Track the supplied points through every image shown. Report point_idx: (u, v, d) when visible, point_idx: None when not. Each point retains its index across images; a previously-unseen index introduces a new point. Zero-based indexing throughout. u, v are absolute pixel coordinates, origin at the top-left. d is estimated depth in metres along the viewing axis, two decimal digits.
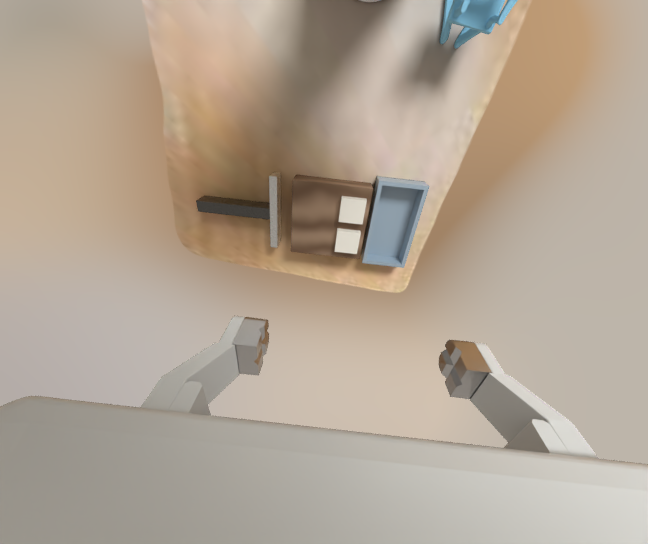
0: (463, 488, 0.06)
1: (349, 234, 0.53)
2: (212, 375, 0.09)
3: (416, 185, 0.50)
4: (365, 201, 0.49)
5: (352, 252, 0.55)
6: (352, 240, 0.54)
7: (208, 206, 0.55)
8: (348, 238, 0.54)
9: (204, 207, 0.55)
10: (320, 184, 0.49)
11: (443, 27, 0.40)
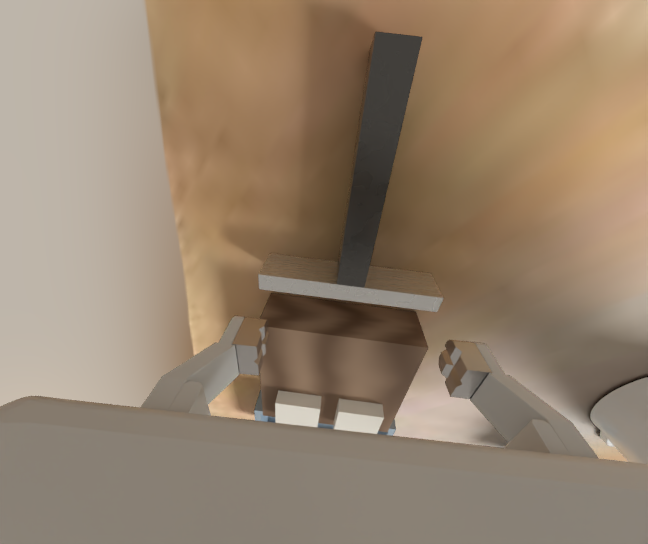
0: (463, 488, 0.06)
1: (313, 421, 0.29)
2: (212, 375, 0.09)
3: None
4: None
5: (277, 422, 0.30)
6: (302, 423, 0.29)
7: (390, 94, 0.14)
8: (305, 419, 0.29)
9: (388, 72, 0.14)
10: (408, 383, 0.26)
11: None
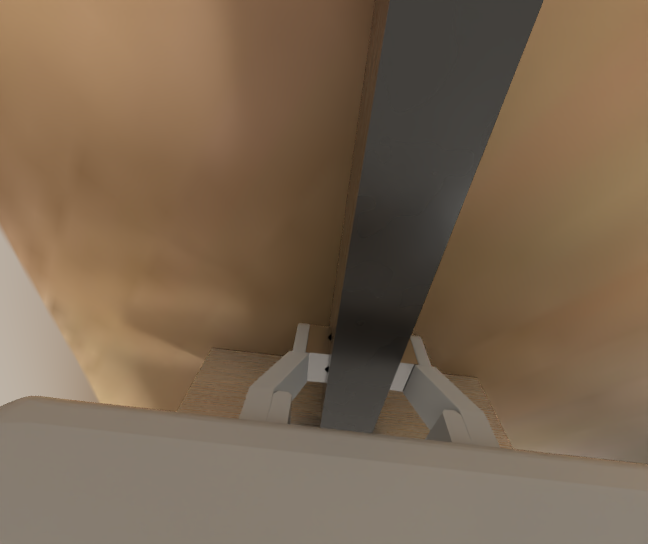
0: (463, 488, 0.06)
1: None
2: (290, 384, 0.09)
3: None
4: None
5: None
6: None
7: (459, 59, 0.04)
8: None
9: None
10: None
11: None
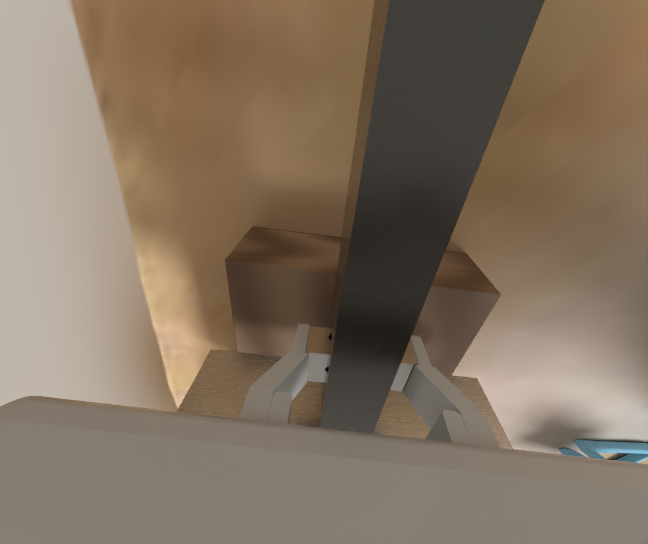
0: (463, 488, 0.06)
1: None
2: (290, 384, 0.09)
3: None
4: None
5: None
6: None
7: (460, 60, 0.04)
8: None
9: None
10: (458, 356, 0.17)
11: (596, 445, 0.30)
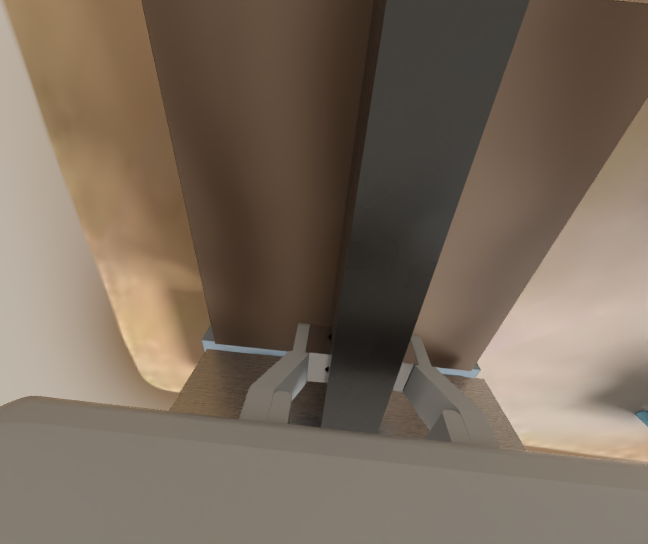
0: (463, 488, 0.06)
1: None
2: (290, 384, 0.09)
3: None
4: None
5: None
6: None
7: (465, 10, 0.04)
8: None
9: None
10: (570, 205, 0.10)
11: None
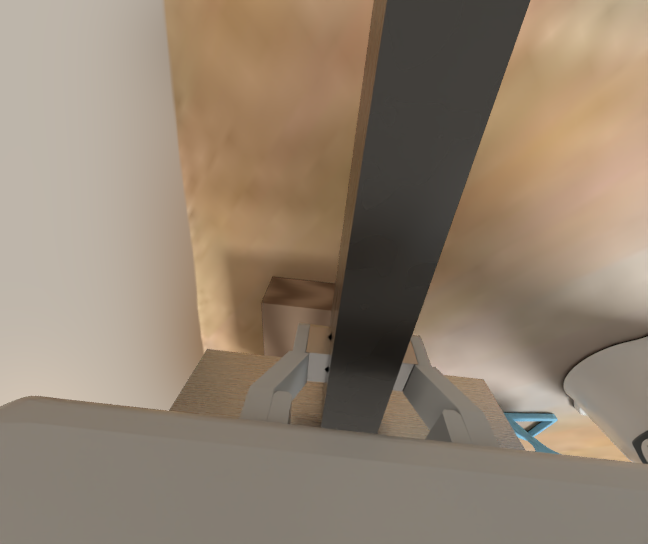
0: (463, 488, 0.06)
1: None
2: (290, 384, 0.09)
3: None
4: None
5: None
6: None
7: (465, 13, 0.04)
8: None
9: None
10: None
11: (514, 416, 0.42)
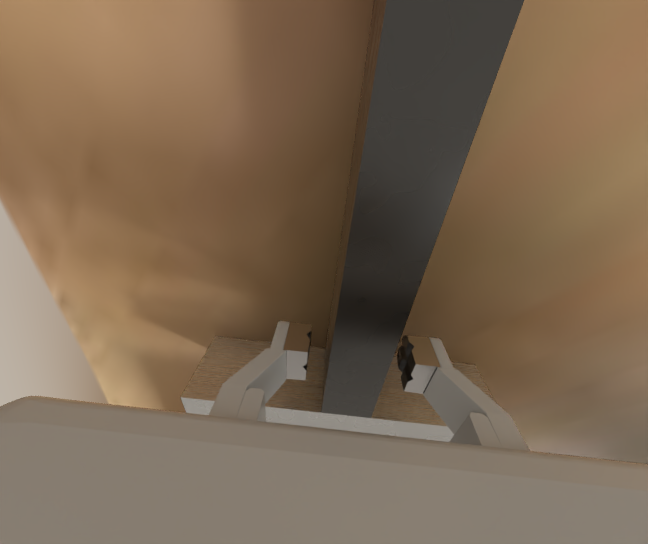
0: (463, 488, 0.06)
1: None
2: (266, 381, 0.09)
3: None
4: None
5: None
6: None
7: (454, 39, 0.05)
8: None
9: None
10: None
11: None
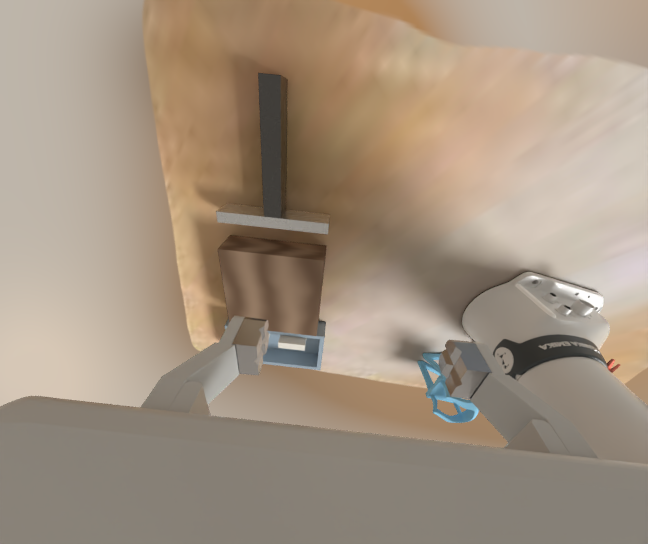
0: (463, 488, 0.06)
1: None
2: (212, 375, 0.09)
3: (320, 361, 0.51)
4: None
5: None
6: None
7: (271, 102, 0.28)
8: None
9: (268, 92, 0.27)
10: (319, 290, 0.40)
11: (432, 355, 0.53)
